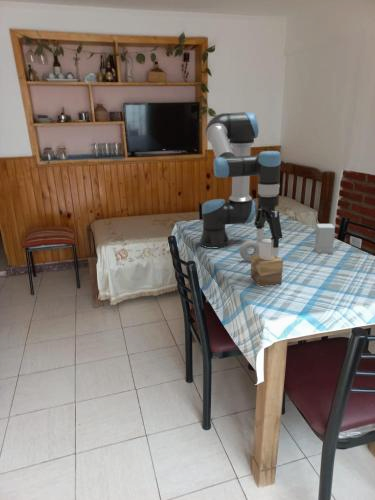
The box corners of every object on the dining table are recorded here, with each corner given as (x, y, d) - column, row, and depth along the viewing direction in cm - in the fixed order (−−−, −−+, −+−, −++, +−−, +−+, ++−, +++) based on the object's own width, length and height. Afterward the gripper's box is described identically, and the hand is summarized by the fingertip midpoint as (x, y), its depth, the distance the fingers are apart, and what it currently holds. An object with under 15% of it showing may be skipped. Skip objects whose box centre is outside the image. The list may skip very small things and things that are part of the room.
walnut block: (250, 278, 143) (251, 267, 141) (271, 275, 144) (271, 264, 143) (259, 287, 134) (260, 275, 133) (281, 284, 136) (281, 272, 134)
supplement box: (332, 253, 165) (335, 227, 161) (316, 253, 166) (318, 227, 162) (330, 248, 172) (332, 223, 167) (314, 247, 173) (316, 223, 169)
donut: (260, 259, 162) (260, 238, 159) (262, 261, 159) (262, 240, 156) (238, 260, 162) (239, 239, 159) (240, 263, 159) (240, 242, 155)
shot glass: (255, 255, 139) (256, 238, 137) (272, 254, 140) (273, 237, 138) (260, 261, 133) (261, 243, 130) (278, 260, 133) (279, 242, 131)
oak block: (250, 267, 141) (251, 255, 139) (270, 264, 143) (271, 252, 141) (261, 275, 133) (261, 263, 131) (282, 272, 135) (283, 260, 133)
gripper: (294, 200, 117) (291, 259, 124) (264, 188, 141) (263, 239, 148) (273, 202, 116) (271, 261, 123) (246, 190, 139) (246, 241, 146)
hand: (266, 249), depth 135 cm, fingers open, 13 cm apart
